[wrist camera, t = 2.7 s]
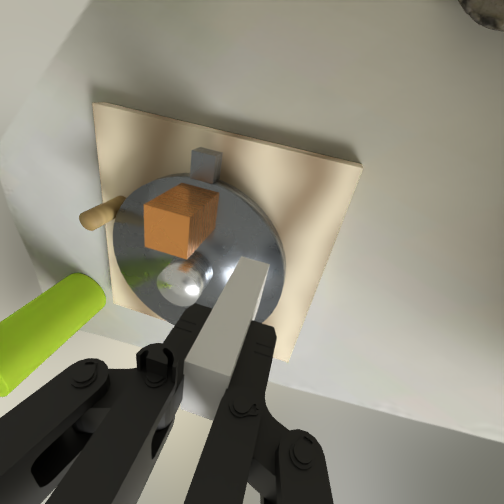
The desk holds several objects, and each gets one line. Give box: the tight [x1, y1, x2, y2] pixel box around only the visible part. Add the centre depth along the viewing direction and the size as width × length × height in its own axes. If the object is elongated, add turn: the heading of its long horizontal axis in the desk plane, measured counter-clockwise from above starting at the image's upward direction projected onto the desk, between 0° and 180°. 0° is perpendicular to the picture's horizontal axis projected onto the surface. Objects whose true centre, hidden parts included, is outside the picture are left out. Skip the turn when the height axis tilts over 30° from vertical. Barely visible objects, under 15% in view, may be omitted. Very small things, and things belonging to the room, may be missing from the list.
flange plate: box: [113, 147, 286, 325], centre depth 23 cm, size 18×16×6 cm
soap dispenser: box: [0, 273, 106, 397], centre depth 28 cm, size 6×7×20 cm
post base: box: [79, 102, 363, 362], centre depth 26 cm, size 22×22×6 cm
